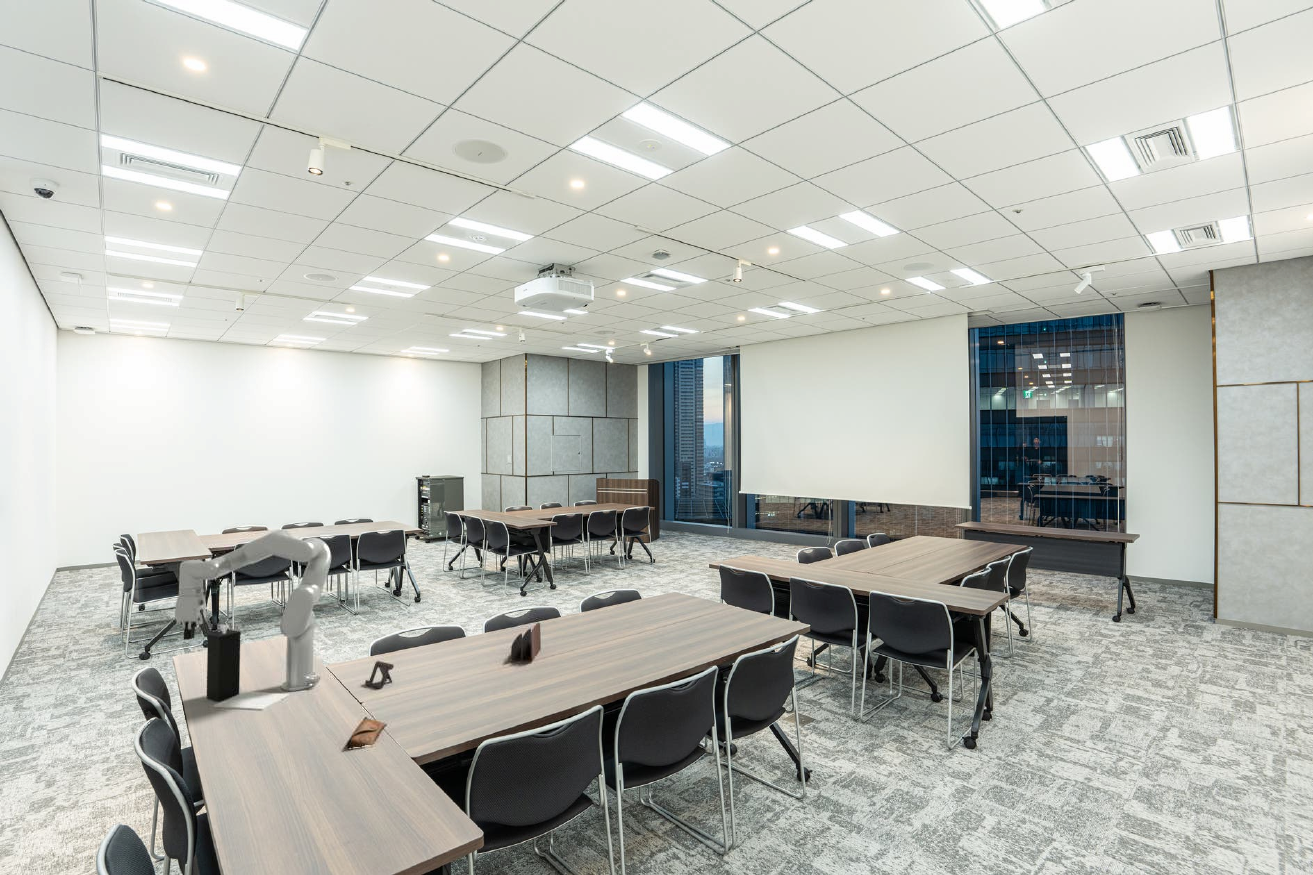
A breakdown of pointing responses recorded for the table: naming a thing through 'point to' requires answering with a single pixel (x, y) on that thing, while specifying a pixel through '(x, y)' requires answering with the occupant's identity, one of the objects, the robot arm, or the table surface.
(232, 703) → the white mat
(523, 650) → the letter holder
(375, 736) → the sunglasses case
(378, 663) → the portable electronic device stand
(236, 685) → the black rectangular box
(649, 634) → the table surface
